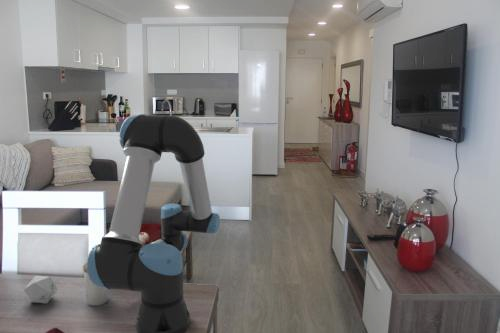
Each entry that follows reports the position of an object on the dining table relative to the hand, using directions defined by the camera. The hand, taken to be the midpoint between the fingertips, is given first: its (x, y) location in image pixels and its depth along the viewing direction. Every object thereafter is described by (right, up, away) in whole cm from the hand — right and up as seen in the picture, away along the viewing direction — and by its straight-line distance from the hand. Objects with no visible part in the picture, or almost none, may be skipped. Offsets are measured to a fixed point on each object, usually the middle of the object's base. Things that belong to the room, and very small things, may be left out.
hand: (104, 275), depth 135 cm
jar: (-2, -7, -2) cm, 8 cm away
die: (-19, -8, -3) cm, 21 cm away
